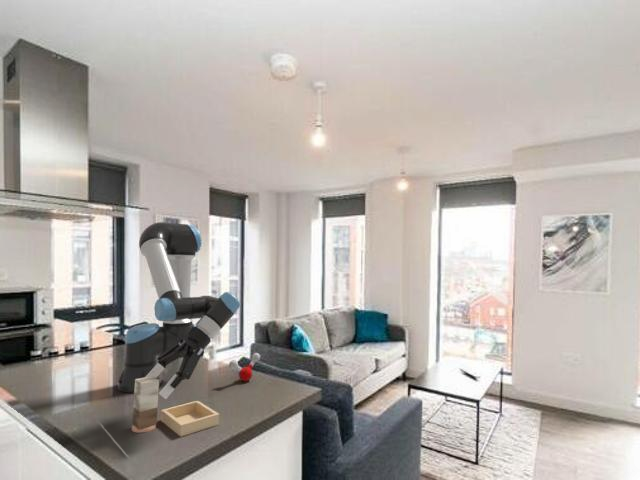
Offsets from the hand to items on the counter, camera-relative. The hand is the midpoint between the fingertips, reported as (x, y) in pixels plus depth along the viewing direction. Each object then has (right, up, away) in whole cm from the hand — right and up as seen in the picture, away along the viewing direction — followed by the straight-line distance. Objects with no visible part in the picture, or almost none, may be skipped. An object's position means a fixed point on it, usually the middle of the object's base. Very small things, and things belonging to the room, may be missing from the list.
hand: (153, 389), depth 111 cm
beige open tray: (+10, -12, +3) cm, 15 cm away
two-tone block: (-2, -10, -1) cm, 10 cm away
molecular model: (+18, -14, +44) cm, 50 cm away
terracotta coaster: (-2, -11, -2) cm, 11 cm away
